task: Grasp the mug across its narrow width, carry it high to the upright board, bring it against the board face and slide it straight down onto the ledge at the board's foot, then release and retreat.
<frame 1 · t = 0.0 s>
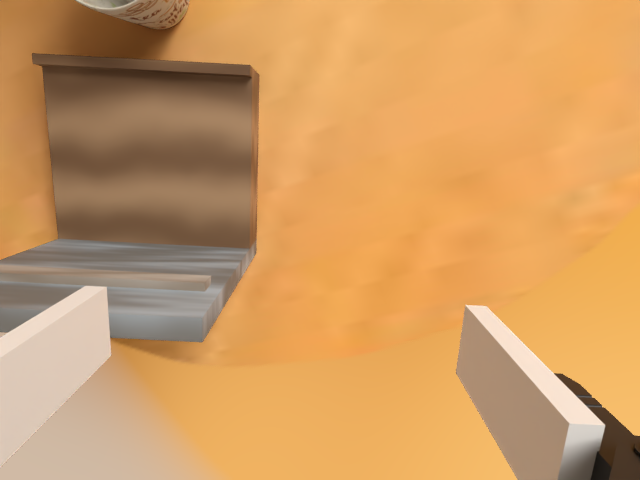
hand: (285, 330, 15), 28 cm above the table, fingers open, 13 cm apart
cleat board: (168, 191, 42), on the table
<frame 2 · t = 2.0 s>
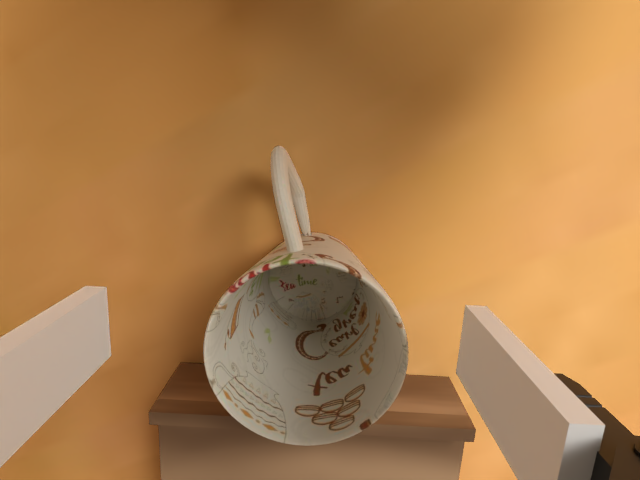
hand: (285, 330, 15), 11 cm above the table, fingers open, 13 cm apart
mug: (305, 245, 26), on the table
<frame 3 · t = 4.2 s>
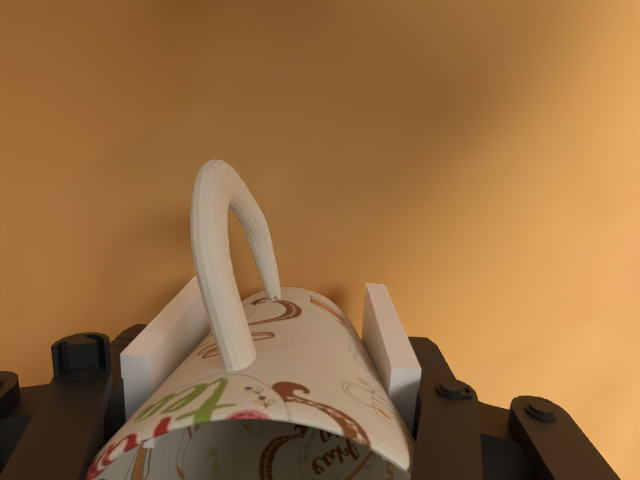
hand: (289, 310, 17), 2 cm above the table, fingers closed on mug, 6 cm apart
mug: (276, 305, 18), point 2 cm above the table, touching gripper
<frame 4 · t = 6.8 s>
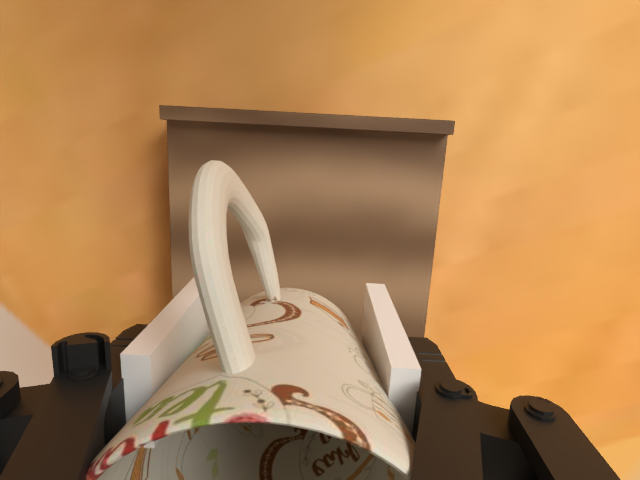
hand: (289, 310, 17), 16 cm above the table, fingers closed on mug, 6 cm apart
mug: (275, 306, 18), point 15 cm above the table, touching gripper
cleat board: (303, 268, 33), on the table
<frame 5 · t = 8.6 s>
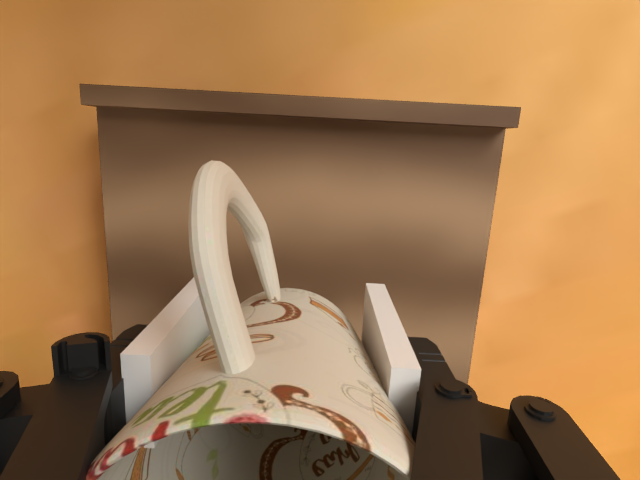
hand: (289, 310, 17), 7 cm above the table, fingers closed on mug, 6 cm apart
mug: (275, 306, 18), point 7 cm above the table, touching gripper
cleat board: (297, 309, 25), on the table
when the fingers open (5 cm above the table, at t = 9.6 s): mug stays where it is, resting on cleat board.
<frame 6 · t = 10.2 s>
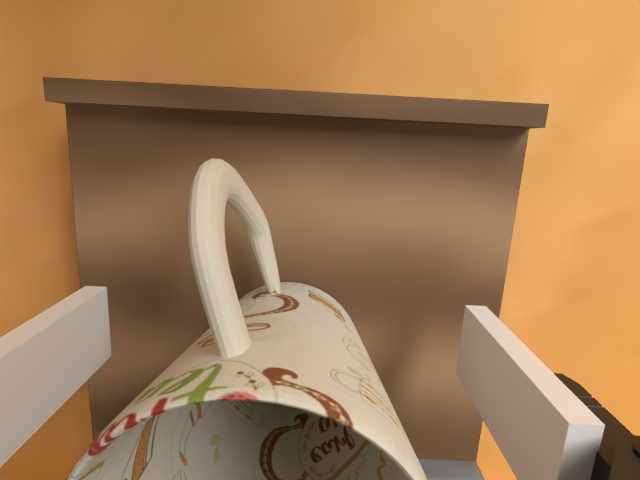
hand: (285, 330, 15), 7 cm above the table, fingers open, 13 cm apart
mug: (277, 299, 18), point 4 cm above the table, touching cleat board
cleat board: (294, 327, 23), on the table
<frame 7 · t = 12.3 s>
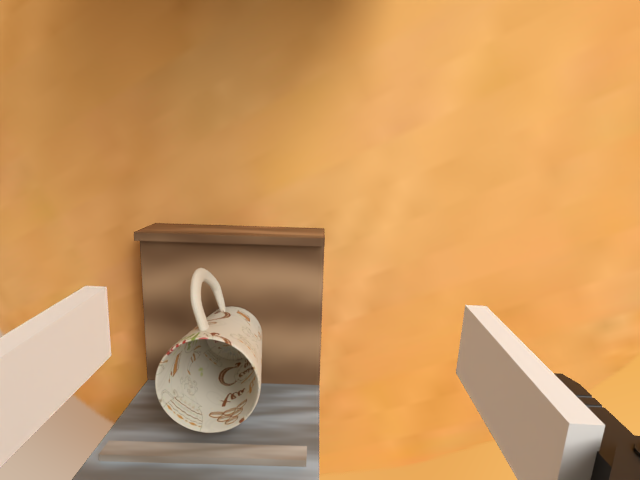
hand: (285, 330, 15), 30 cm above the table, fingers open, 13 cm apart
mug: (227, 314, 43), point 4 cm above the table, touching cleat board
cleat board: (240, 326, 47), on the table
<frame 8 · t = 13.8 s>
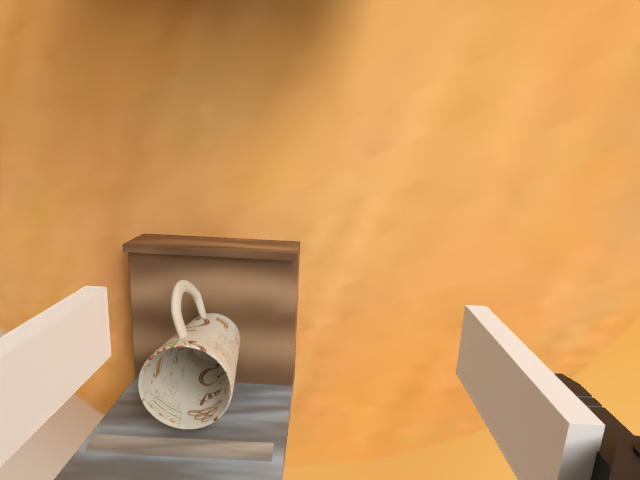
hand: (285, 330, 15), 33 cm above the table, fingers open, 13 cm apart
mug: (208, 319, 46), point 4 cm above the table, touching cleat board
cleat board: (222, 330, 51), on the table
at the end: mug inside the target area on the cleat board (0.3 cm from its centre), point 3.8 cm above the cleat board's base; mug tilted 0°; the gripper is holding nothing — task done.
